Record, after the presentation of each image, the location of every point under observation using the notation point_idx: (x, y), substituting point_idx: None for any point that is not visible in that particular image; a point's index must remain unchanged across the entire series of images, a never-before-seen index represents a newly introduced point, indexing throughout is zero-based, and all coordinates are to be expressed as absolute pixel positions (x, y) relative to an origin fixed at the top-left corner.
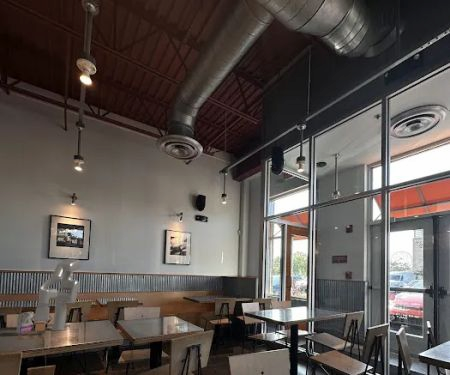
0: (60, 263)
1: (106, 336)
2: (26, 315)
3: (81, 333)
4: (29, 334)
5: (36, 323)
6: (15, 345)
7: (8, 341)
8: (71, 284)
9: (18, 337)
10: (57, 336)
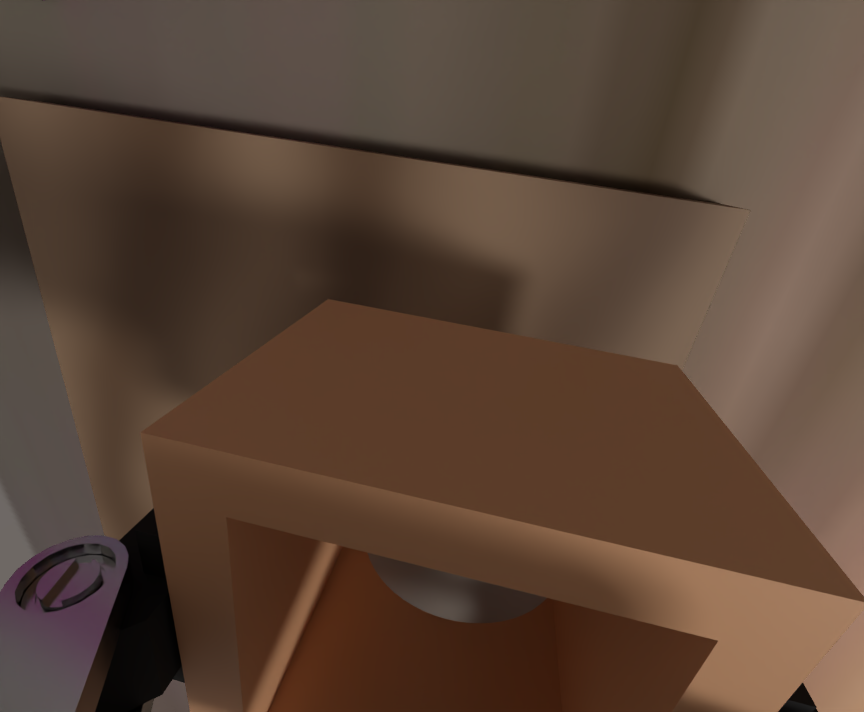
0: None
1: None
2: None
3: None
4: (257, 289)
5: (202, 643)
6: (185, 700)
7: (46, 498)
8: None
9: (109, 476)
10: (841, 556)
